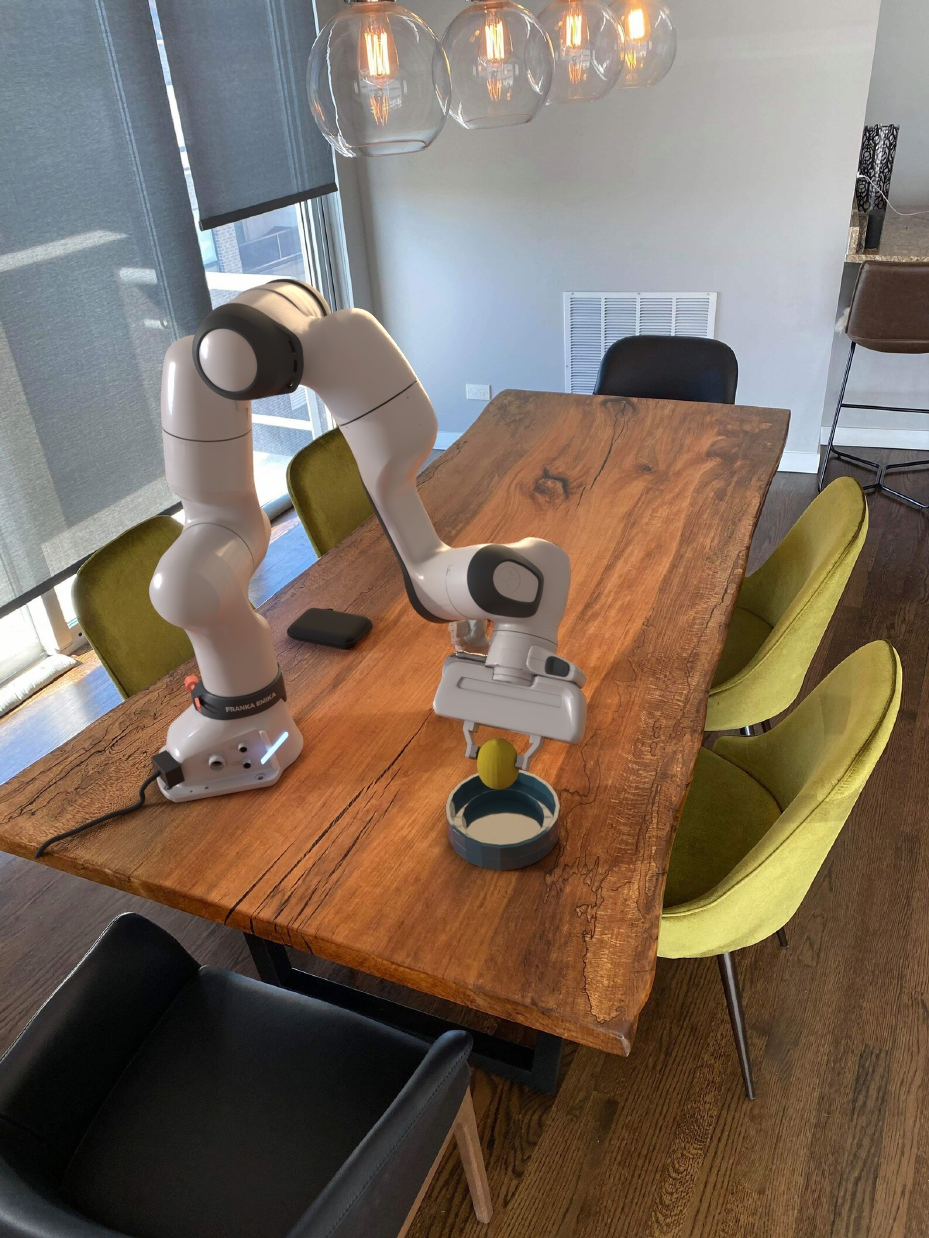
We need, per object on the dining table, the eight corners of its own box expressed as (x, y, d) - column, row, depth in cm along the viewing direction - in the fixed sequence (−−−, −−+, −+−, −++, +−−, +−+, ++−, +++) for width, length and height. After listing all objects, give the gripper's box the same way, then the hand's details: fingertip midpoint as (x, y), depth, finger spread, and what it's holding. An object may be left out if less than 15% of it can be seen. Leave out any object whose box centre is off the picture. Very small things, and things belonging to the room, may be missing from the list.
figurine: (494, 662, 159) (489, 561, 149) (511, 688, 152) (506, 584, 142) (445, 674, 157) (436, 571, 147) (460, 700, 150) (451, 595, 140)
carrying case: (380, 625, 172) (313, 613, 178) (378, 611, 171) (311, 600, 176) (352, 655, 164) (283, 641, 170) (350, 641, 163) (281, 627, 168)
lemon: (524, 776, 122) (522, 729, 118) (514, 805, 117) (513, 756, 113) (484, 771, 123) (481, 724, 119) (473, 798, 119) (470, 751, 115)
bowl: (474, 887, 116) (472, 862, 114) (431, 813, 128) (429, 788, 126) (580, 849, 121) (580, 823, 118) (528, 780, 133) (528, 756, 130)
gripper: (440, 642, 121) (415, 745, 118) (590, 669, 114) (567, 779, 111) (454, 653, 127) (431, 751, 124) (598, 679, 120) (576, 783, 117)
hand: (496, 764), depth 118 cm, fingers closed on lemon, 5 cm apart
